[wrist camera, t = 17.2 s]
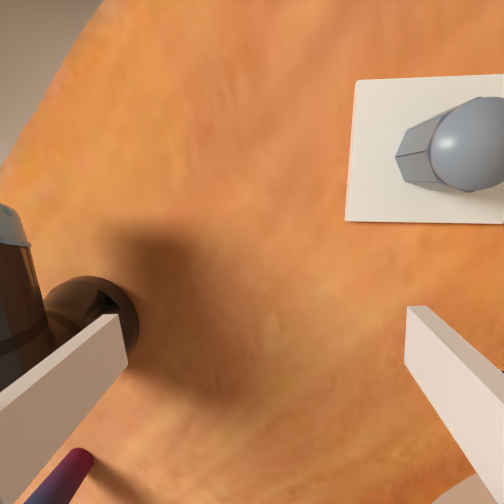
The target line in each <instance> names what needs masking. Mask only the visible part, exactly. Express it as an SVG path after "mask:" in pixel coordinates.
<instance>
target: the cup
mask: <svg viewBox="0 0 504 504" xmlns="http://www.w3.org/2000/svg"><path fill="white" fill-rule="evenodd" d="M92 465H93V457H92V456H91V454H90V453H89V452H88V451H86V450H84V449H82V448H74V449H72V450H71V451H70V452H69V453H68V454H67V456H66V457H65V458H64V459H63V460H62V461H61V462H60V463H59V464H58V466H57V467H56V468H55V469H54V470H53V471H52V472H51V473H50V475H49V476H48V477H47V478H46V479H45V480H44V481H43V482H42V483H41V485H40V486H39V487H38V488H37V489H36V490H35V491H34V492H33V494H32V495H31V496H30V497H29V498H28V499H27V500H26V501H25V502H24V504H69V503H70V501H71V499H72V498H73V496H74V494H75V493H76V491H77V490H78V488H79V486H80V485H81V483H82V482H83V480H84V478H85V477H86V475H87V473H88V472H89V470H90V469H91V467H92Z"/></svg>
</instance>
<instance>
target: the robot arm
mask: <svg viewBox="0 0 504 504" xmlns="http://www.w3.org/2000/svg"><path fill="white" fill-rule="evenodd" d="M30 247H31V244H30V243H29V242H28V240H27V237H26V234H25V232H24V229H23V226H22V223H21V219H20V217H19V215H18V214H17V212H16V211H15V210H14V209H12V208H11V207H9V206H7V205H4V204H1V203H0V504H14V502H15V501H16V500H17V499H18V498H19V496H20V495H21V494H22V493H23V492H24V490H25V489H26V488H27V487H28V486H29V484H30V483H31V482H32V481H33V479H34V478H35V477H36V476H37V475H38V473H39V472H40V471H41V470H42V469H43V467H44V466H45V465H46V464H47V462H48V461H49V460H50V459H51V458H52V456H53V455H54V454H55V453H56V452H57V450H58V449H59V448H60V447H61V446H62V444H63V443H64V442H65V441H66V439H67V438H68V437H69V436H70V435H71V433H72V432H73V431H74V430H75V429H76V427H77V426H78V425H79V424H80V423H81V421H82V420H83V419H84V418H85V416H86V415H87V414H88V413H89V412H90V410H91V409H92V408H93V407H94V406H95V404H96V403H97V402H98V401H99V400H100V398H101V397H102V396H103V395H104V393H105V392H106V391H107V390H108V389H109V387H110V386H111V385H112V384H113V383H114V381H115V380H116V379H117V378H118V377H119V375H120V374H121V373H122V372H123V370H124V369H125V368H126V367H127V366H128V360H127V354H128V353H129V351H130V350H131V349H132V348H133V347H134V345H135V343H136V341H137V338H138V333H139V321H138V316H137V313H136V310H135V308H134V306H133V304H132V303H131V301H130V300H129V298H128V297H127V296H126V295H125V294H124V293H123V292H122V291H121V290H120V289H119V288H118V287H116V286H115V285H114V284H112V283H110V282H108V281H106V280H104V279H101V278H98V277H93V276H80V277H76V278H73V279H70V280H68V281H66V282H64V283H62V284H60V285H58V286H57V287H55V288H54V289H53V290H52V291H51V292H50V293H49V294H48V295H47V296H46V298H45V299H44V300H43V299H42V295H41V291H40V287H39V284H38V280H37V276H36V272H35V268H34V264H33V260H32V255H31V251H30ZM404 364H405V365H406V367H407V368H408V370H409V371H410V373H411V374H412V376H413V377H414V379H415V380H416V382H417V383H418V385H419V386H420V388H421V389H422V391H423V392H424V394H425V395H426V397H427V398H428V400H429V401H430V403H431V404H432V406H433V407H434V409H435V410H436V412H437V413H438V415H439V416H440V418H441V419H442V421H443V422H444V424H445V425H446V427H447V428H448V430H449V431H450V433H451V434H452V436H453V437H454V439H455V440H456V442H457V443H458V445H459V446H460V448H461V449H462V451H463V452H464V454H465V455H466V457H467V458H468V460H469V461H470V463H471V464H472V466H473V467H474V469H475V471H476V472H477V473H478V475H479V477H480V478H481V479H482V481H483V482H484V484H485V485H486V487H487V488H488V490H489V492H490V493H491V494H492V496H493V497H494V499H495V501H496V502H497V503H498V504H504V371H500V370H499V369H498V368H497V367H496V366H494V365H493V364H492V363H491V362H490V361H489V360H488V359H486V358H485V357H484V356H483V355H482V354H481V353H480V352H478V351H477V350H476V349H475V348H474V347H473V346H472V345H471V344H469V343H468V342H467V341H466V340H465V339H464V338H463V337H461V336H460V335H459V334H458V333H457V332H456V331H455V330H453V329H452V328H451V327H450V326H449V325H448V324H447V323H445V322H444V321H443V320H442V319H441V318H440V317H439V316H437V315H436V314H435V313H434V312H433V311H432V310H431V309H430V308H428V307H427V306H407V320H406V338H405V355H404Z"/></svg>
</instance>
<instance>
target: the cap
mask: <svg viewBox="0 0 504 504" xmlns="http://www.w3.org/2000/svg"><path fill="white" fill-rule="evenodd" d="M395 157H396V158H395V160H396V162H397V165H398V167H399V169H400V172H401V174H402V177H403V179H404V181H405V182H407V183H410V184H413V185H416V186H419V187H422V188H425V189H428V190H437V191H449V192H461V193H472V192H475V191H477V190H484V189H488V188H491V187H494V186H496V185H498V184H500V183H502V182H504V98H501V97H481V96H480V97H476V98H474V99H472V100H469V101H467V102H465V103H462V104H460V105H458V106H456V107H453V108H451V109H449V110H446V111H444V112H442V113H439V114H437V115H435V116H433V117H431V118H429V119H427V120H425V121H423V122H421V123H419V124H417V125H415V126H413V127H411V128H409V129H407V130H406V132H405V135H404V137H403V139H402V142H401V144H400V146H399V148H398V151H397V153H396V155H395Z"/></svg>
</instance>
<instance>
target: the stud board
mask: <svg viewBox="0 0 504 504" xmlns="http://www.w3.org/2000/svg"><path fill="white" fill-rule="evenodd" d="M480 96H481V97H501V98H504V74H492V75H469V76H445V77H421V78H398V79H374V80H358V81H357V82H356V84H355V93H354V106H353V119H352V132H351V144H350V157H349V170H348V182H347V195H346V208H345V220H346V221H367V222H426V223H485V224H503V222H504V182H502V183H500V184H498V185H496V186H494V187H491V188H488V189H484V190H477V191H475V192H472V193H461V192H449V191H437V190H428V189H425V188H422V187H419V186H416V185H413V184H410V183H407V182H405V181H404V179H403V177H402V174H401V172H400V169H399V167H398V165H397V162H396V160H395V158H396V157H395V155H396V153H397V151H398V148H399V146H400V144H401V142H402V139H403V137H404V135H405V132H406V130H407V129H409V128H411V127H413V126H415V125H417V124H419V123H421V122H423V121H425V120H427V119H429V118H431V117H433V116H435V115H437V114H439V113H442V112H444V111H446V110H449V109H451V108H453V107H456V106H458V105H460V104H462V103H465V102H467V101H469V100H472V99H474V98H476V97H480Z"/></svg>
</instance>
